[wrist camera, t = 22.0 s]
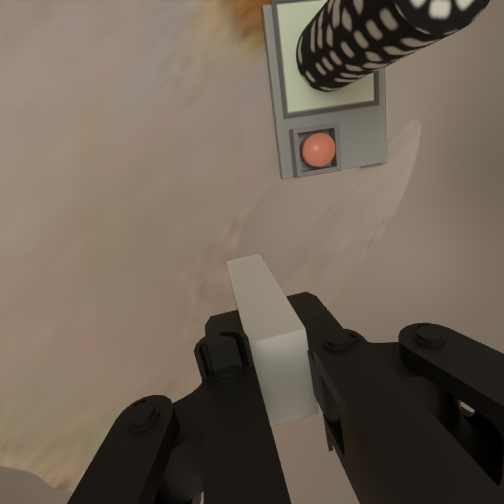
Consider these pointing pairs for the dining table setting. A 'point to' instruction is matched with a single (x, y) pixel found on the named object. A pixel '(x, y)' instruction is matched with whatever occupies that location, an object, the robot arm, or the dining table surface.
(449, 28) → the white-spotted black cylinder
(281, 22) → the picture board
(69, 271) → the dining table surface
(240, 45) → the dining table surface
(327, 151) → the button
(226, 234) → the dining table surface
